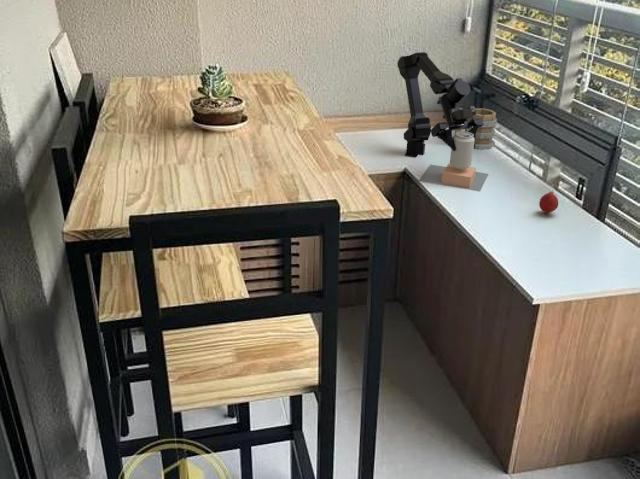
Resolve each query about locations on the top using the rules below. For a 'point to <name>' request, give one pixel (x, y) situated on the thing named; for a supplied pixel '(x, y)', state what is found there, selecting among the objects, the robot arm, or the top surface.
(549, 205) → the onion
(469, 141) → the can
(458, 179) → the block
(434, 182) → the baseplate
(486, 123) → the tankard
